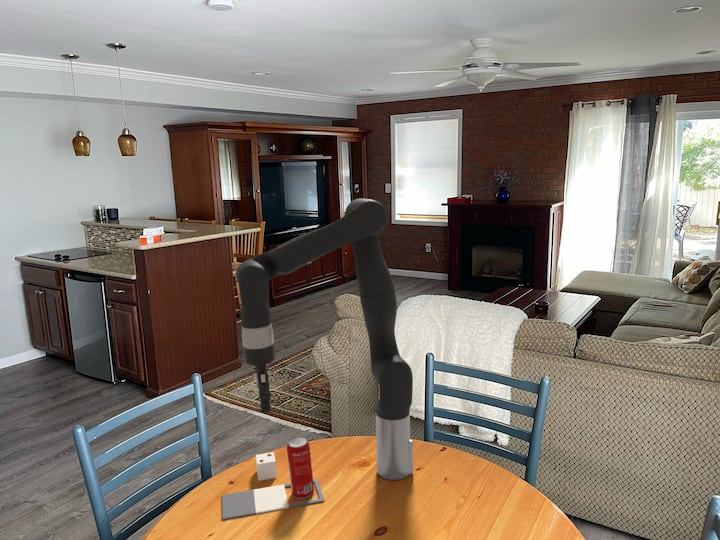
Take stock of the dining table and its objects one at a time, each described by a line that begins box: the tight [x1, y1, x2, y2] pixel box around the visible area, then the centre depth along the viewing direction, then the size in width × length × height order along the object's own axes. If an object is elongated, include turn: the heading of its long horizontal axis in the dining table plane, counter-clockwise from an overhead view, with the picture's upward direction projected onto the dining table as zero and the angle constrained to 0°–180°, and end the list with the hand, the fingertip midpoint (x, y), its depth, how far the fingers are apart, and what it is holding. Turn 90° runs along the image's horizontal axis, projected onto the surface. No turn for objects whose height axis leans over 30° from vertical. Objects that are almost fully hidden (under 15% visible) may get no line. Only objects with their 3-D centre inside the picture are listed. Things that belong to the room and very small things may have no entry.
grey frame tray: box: [221, 478, 325, 521], centre depth 136 cm, size 25×10×1 cm, turn 105°
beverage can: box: [286, 436, 315, 500], centre depth 136 cm, size 6×6×15 cm
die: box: [255, 451, 277, 482], centre depth 147 cm, size 5×5×5 cm
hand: (264, 404), depth 133 cm, fingers open, 8 cm apart
